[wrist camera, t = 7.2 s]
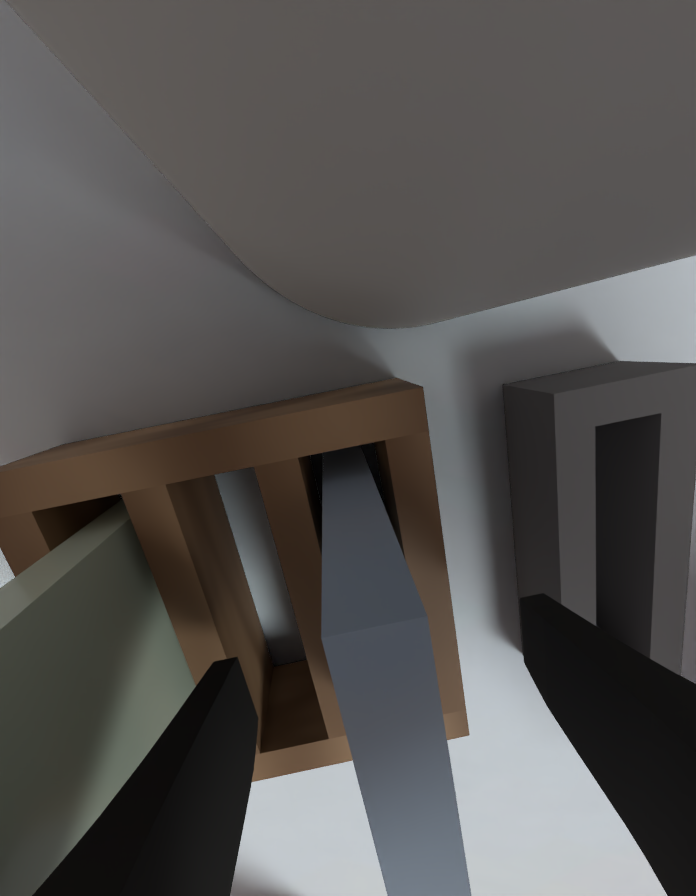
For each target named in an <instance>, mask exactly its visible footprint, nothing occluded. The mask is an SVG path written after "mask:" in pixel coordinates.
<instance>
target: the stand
mask: <svg viewBox="0 0 696 896" xmlns="http://www.w3.org/2000/svg"><path fill="white" fill-rule="evenodd" d="M503 394H504V408H505V421H506V435H507V449H508V462H509V476H510V489H511V503H512V517H513V530H514V544H515V557H516V571H517V585H518V598H522V597H526V596H531V595H536V594H541V593H544V594H546V595H547V596H549V597H551V598H552V599H554V600H555V601H557V602H559V603H560V604H562V605H563V606H565V607H567V608H568V609H570V610H571V611H573V612H574V613H576V614H578V615H579V616H581V617H582V618H584V619H586V620H587V621H589V622H590V623H592V624H594V625H595V626H597V627H598V628H600V629H602V630H603V631H605V632H606V633H608V634H610V635H611V636H613V637H615V638H616V639H618V640H619V641H621V642H623V643H624V644H626V645H628V646H629V647H631V648H633V649H634V650H636V651H638V652H640V653H641V654H643V655H645V656H646V657H648V658H650V659H652V660H653V661H655V662H657V663H659V664H660V665H662V666H664V667H665V668H667V669H669V670H671V671H673V672H674V673H676V674H678V675H680V674H681V661H682V648H683V635H684V622H685V609H686V595H687V582H688V569H689V556H690V543H691V530H692V516H693V503H694V490H695V477H696V363H665V362H632V361H618V362H613V363H608V364H603V365H598V366H593V367H588V368H583V369H579V370H574V371H569V372H564V373H559V374H554V375H549V376H544V377H539V378H534V379H529V380H524V381H519V382H514V383H509V384H504V385H503ZM519 612H520V599H519ZM520 626H521V612H520ZM521 639H522V626H521ZM522 653H523V640H522ZM523 656H524V653H523Z"/></svg>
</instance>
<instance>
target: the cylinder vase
mask: <svg viewBox="0 0 696 896" xmlns="http://www.w3.org/2000/svg"><path fill="white" fill-rule="evenodd" d="M5 1H6V2H7V3H8V4H9V5H10V7H11V8H12V9H13V10H14V11H15V12H16V13H17V14H18V15H19V16H20V18H21V19H22V20H23V21H24V22H25V23H26V24H27V25H28V26H29V28H30V29H31V30H32V31H33V32H34V33H35V34H36V35H37V36H38V37H39V39H40V40H41V41H42V42H43V43H44V44H45V45H46V46H47V47H48V48H49V50H50V51H51V52H52V53H53V54H54V55H55V56H56V57H57V58H58V60H59V61H60V62H61V63H62V64H63V65H64V66H65V67H66V68H67V69H68V71H69V72H70V73H71V74H72V75H73V76H74V77H75V78H76V79H77V81H78V82H79V83H80V84H81V85H82V86H83V87H84V88H85V89H86V90H87V92H88V93H89V94H90V95H91V96H92V97H93V98H94V99H95V100H96V102H97V103H98V104H99V105H100V106H101V107H102V108H103V109H104V110H105V111H106V113H107V114H108V115H109V116H110V117H111V118H112V119H113V120H114V121H115V122H116V124H117V125H118V126H119V127H120V128H121V129H122V130H123V131H124V132H125V134H126V135H127V136H128V137H129V138H130V139H131V140H132V141H133V142H134V143H135V145H136V146H137V147H138V148H139V149H140V150H141V151H142V152H143V153H144V155H145V156H146V157H147V158H148V159H149V160H150V161H151V162H152V163H153V164H154V166H155V167H156V168H157V169H158V170H159V171H160V172H161V173H162V174H163V176H164V177H165V178H166V179H167V180H168V181H169V182H170V183H171V184H172V185H173V187H174V188H175V189H176V190H177V191H178V192H179V193H180V194H181V195H182V196H183V198H184V199H185V200H186V201H187V202H188V203H189V204H190V205H191V206H192V208H193V209H194V210H195V211H196V212H197V213H198V214H199V215H200V216H201V217H202V219H203V220H204V221H205V222H206V223H207V224H208V225H209V226H210V227H211V229H212V230H213V231H214V232H215V233H216V234H217V235H218V236H219V237H220V238H221V240H222V241H223V242H224V243H225V244H226V245H227V246H228V247H229V248H230V249H231V251H232V252H233V253H234V254H235V255H236V256H237V257H238V258H239V259H240V260H241V261H242V262H243V263H244V265H245V266H246V267H248V268H249V269H250V270H251V271H252V272H253V273H254V274H255V275H256V276H257V277H259V278H260V279H261V280H262V281H263V282H265V283H266V284H267V285H268V286H270V287H271V288H272V289H274V290H275V291H276V292H278V293H279V294H281V295H282V296H284V297H285V298H287V299H289V300H290V301H292V302H294V303H296V304H297V305H299V306H301V307H303V308H305V309H307V310H309V311H311V312H314V313H316V314H318V315H321V316H323V317H326V318H329V319H332V320H335V321H339V322H342V323H346V324H351V325H356V326H361V327H369V328H383V329H396V328H410V327H418V326H423V325H429V324H433V323H437V322H441V321H445V320H449V319H452V318H456V317H460V316H464V315H468V314H472V313H475V312H479V311H483V310H487V309H491V308H495V307H499V306H502V305H506V304H510V303H514V302H518V301H522V300H525V299H529V298H533V297H537V296H541V295H545V294H548V293H552V292H556V291H560V290H564V289H568V288H571V287H575V286H579V285H583V284H587V283H591V282H595V281H598V280H602V279H606V278H610V277H614V276H618V275H621V274H625V273H629V272H633V271H637V270H641V269H644V268H648V267H652V266H656V265H660V264H664V263H667V262H671V261H675V260H679V259H683V258H687V257H691V256H694V255H696V0H5Z"/></svg>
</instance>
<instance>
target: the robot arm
mask: <svg viewBox="0 0 696 896" xmlns="http://www.w3.org/2000/svg"><path fill="white" fill-rule="evenodd" d="M519 599H520V612H521V626H522V640H523V653H524V663H525V665H526V667H527V669H528V671H529V673H530V675H531V677H532V679H533V680H534V682H535V684H536V686H537V688H538V690H539V692H540V694H541V696H542V697H543V699H544V701H545V703H546V705H547V707H548V708H549V710H550V711H551V713H552V714H553V716H554V718H555V719H556V721H557V722H558V724H559V725H560V727H561V728H562V730H563V731H564V733H565V734H566V736H567V737H568V739H569V740H570V742H571V744H572V745H573V747H574V748H575V750H576V751H577V753H578V754H579V756H580V757H581V759H582V760H583V762H584V763H585V765H586V766H587V768H588V769H589V771H590V772H591V774H592V775H593V777H594V778H595V780H596V781H597V783H598V784H599V786H600V787H601V789H602V790H603V792H604V793H605V795H606V796H607V798H608V799H609V801H610V802H611V804H612V805H613V807H614V808H615V810H616V811H617V813H618V814H619V816H620V817H621V819H622V820H623V822H624V823H625V825H626V827H627V828H628V830H629V831H630V833H631V835H632V836H633V838H634V839H635V841H636V843H637V844H638V846H639V847H640V849H641V851H642V852H643V854H644V855H645V857H646V859H647V860H648V862H649V864H650V866H651V867H652V869H653V871H654V873H655V874H656V876H657V878H658V880H659V881H660V883H661V885H662V887H663V888H664V890H665V892H666V894H667V895H668V896H696V684H694V683H693V682H691V681H689V680H687V679H685V678H684V677H682V676H680V675H678V674H676V673H674V672H673V671H671V670H669V669H667V668H665V667H664V666H662V665H660V664H659V663H657V662H655V661H653V660H652V659H650V658H648V657H646V656H645V655H643V654H641V653H640V652H638V651H636V650H634V649H633V648H631V647H629V646H628V645H626V644H624V643H623V642H621V641H619V640H618V639H616V638H615V637H613V636H611V635H610V634H608V633H606V632H605V631H603V630H602V629H600V628H598V627H597V626H595V625H594V624H592V623H590V622H589V621H587V620H586V619H584V618H582V617H581V616H579V615H578V614H576V613H574V612H573V611H571V610H570V609H568V608H567V607H565V606H563V605H562V604H560V603H559V602H557V601H555V600H554V599H552V598H551V597H549V596H547V595H546V594H544V593H541V594H536V595H531V596H526V597H522V598H519ZM258 719H259V718H258V715H257V712H256V709H255V706H254V704H253V701H252V698H251V695H250V692H249V689H248V686H247V683H246V680H245V677H244V674H243V671H242V668H241V665H240V662H239V659H238V657H233V658H228V659H224V660H219V661H214V662H213V663H212V664H211V666H210V667H209V669H208V670H207V671H206V673H205V674H204V676H203V677H202V678H201V680H200V681H199V683H198V684H197V685H196V687H195V688H194V690H193V691H192V692H191V694H190V695H189V697H188V698H187V700H186V701H185V702H184V704H183V705H182V707H181V708H180V709H179V711H178V712H177V714H176V715H175V716H174V718H173V719H172V721H171V722H170V724H169V725H168V726H167V728H166V729H165V730H164V732H163V733H162V734H161V736H160V737H159V739H158V740H157V741H156V743H155V744H154V745H153V747H152V748H151V750H150V751H149V752H148V754H147V755H146V756H145V758H144V759H143V760H142V762H141V763H140V764H139V766H138V767H137V768H136V770H135V771H134V772H133V773H132V775H131V776H130V777H129V779H128V780H127V781H126V783H125V784H124V785H123V786H122V788H121V789H120V790H119V792H118V793H117V794H116V795H115V797H114V798H113V799H112V801H111V802H110V803H109V804H108V806H107V807H106V808H105V810H104V811H103V812H102V813H101V815H100V816H99V817H98V818H97V820H96V821H95V822H94V823H93V825H92V826H91V827H90V828H89V830H88V831H87V832H86V833H85V834H84V836H83V837H82V838H81V839H80V840H79V842H78V843H77V844H76V845H75V846H74V848H73V849H72V850H71V851H70V852H69V853H68V855H67V856H66V857H65V858H64V859H63V860H62V862H61V863H60V864H59V865H58V866H57V867H56V868H55V870H54V871H53V872H52V873H51V874H50V875H49V877H48V878H47V879H46V880H45V881H44V882H43V884H42V885H41V886H40V887H39V888H38V889H37V890H36V892H35V893H34V894H33V895H32V896H230V892H231V887H232V882H233V877H234V871H235V866H236V861H237V856H238V851H239V846H240V840H241V835H242V830H243V825H244V820H245V815H246V809H247V804H248V799H249V793H250V788H251V783H252V777H253V771H254V763H255V753H256V743H257V731H258Z"/></svg>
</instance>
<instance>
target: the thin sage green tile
mask: <svg viewBox="0 0 696 896" xmlns="http://www.w3.org/2000/svg"><path fill="white" fill-rule="evenodd" d="M195 687H196V685H195V682H194V679H193V677H192V674H191V672H190V669H189V667H188V664H187V662H186V659H185V656H184V654H183V651H182V649H181V646H180V644H179V641H178V639H177V636H176V633H175V631H174V628H173V626H172V623H171V621H170V618H169V616H168V613H167V610H166V608H165V605H164V603H163V600H162V598H161V595H160V593H159V590H158V587H157V585H156V582H155V580H154V577H153V575H152V572H151V570H150V567H149V564H148V562H147V559H146V557H145V554H144V552H143V549H142V547H141V544H140V541H139V539H138V536H137V534H136V531H135V529H134V526H133V524H132V521H131V518H130V516H129V513H128V511H127V508H126V506H125V503H124V501H123V499H122V500H120V501H119V502H118V503H116V504H115V505H114V506H112V507H111V508H109V509H108V510H107V511H105V512H104V513H103V514H101V515H100V516H98V517H97V518H96V519H94V520H93V521H92V522H90V523H89V524H87V525H86V526H85V527H83V528H82V529H81V530H79V531H78V532H77V533H75V534H74V535H72V536H71V537H70V538H68V539H67V540H66V541H64V542H63V543H61V544H60V545H59V546H57V547H56V548H55V549H53V550H52V551H51V552H49V553H48V554H46V555H45V556H44V557H42V558H41V559H40V560H38V561H37V562H35V563H34V564H33V565H31V566H30V567H29V568H27V569H26V570H25V571H23V572H22V573H20V574H19V575H18V576H16V577H15V578H14V579H12V580H11V581H9V582H8V583H7V584H5V585H4V586H3V587H1V588H0V896H32V895H33V894H34V893H35V892H36V890H37V889H38V888H39V887H40V886H41V885H42V884H43V882H44V881H45V880H46V879H47V878H48V877H49V875H50V874H51V873H52V872H53V871H54V870H55V868H56V867H57V866H58V865H59V864H60V863H61V862H62V860H63V859H64V858H65V857H66V856H67V855H68V853H69V852H70V851H71V850H72V849H73V848H74V846H75V845H76V844H77V843H78V842H79V840H80V839H81V838H82V837H83V836H84V834H85V833H86V832H87V831H88V830H89V828H90V827H91V826H92V825H93V823H94V822H95V821H96V820H97V818H98V817H99V816H100V815H101V813H102V812H103V811H104V810H105V808H106V807H107V806H108V804H109V803H110V802H111V801H112V799H113V798H114V797H115V795H116V794H117V793H118V792H119V790H120V789H121V788H122V786H123V785H124V784H125V783H126V781H127V780H128V779H129V777H130V776H131V775H132V773H133V772H134V771H135V770H136V768H137V767H138V766H139V764H140V763H141V762H142V760H143V759H144V758H145V756H146V755H147V754H148V752H149V751H150V750H151V748H152V747H153V745H154V744H155V743H156V741H157V740H158V739H159V737H160V736H161V734H162V733H163V732H164V730H165V729H166V728H167V726H168V725H169V724H170V722H171V721H172V719H173V718H174V716H175V715H176V714H177V712H178V711H179V709H180V708H181V707H182V705H183V704H184V702H185V701H186V700H187V698H188V697H189V695H190V694H191V692H192V691H193V690H194V688H195Z"/></svg>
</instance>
